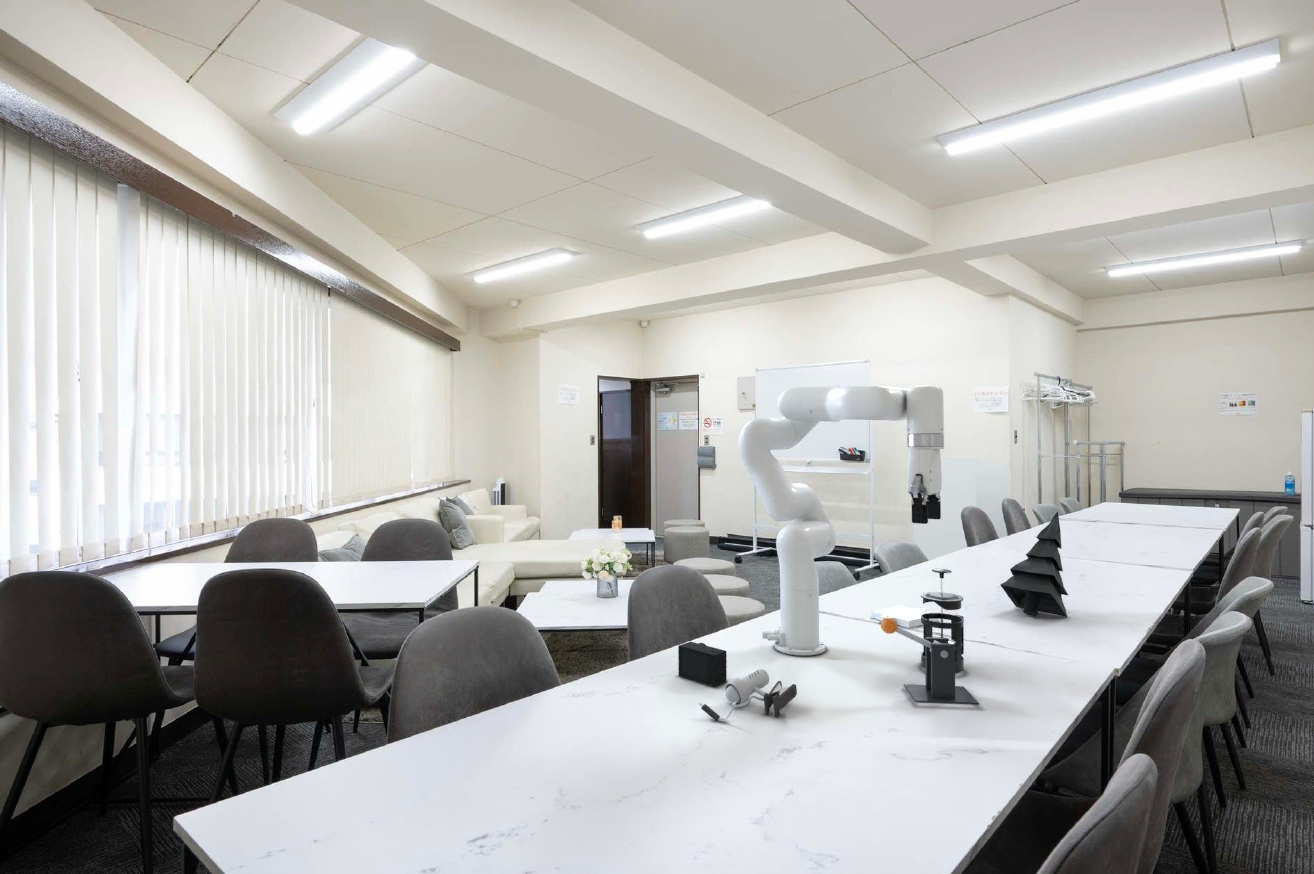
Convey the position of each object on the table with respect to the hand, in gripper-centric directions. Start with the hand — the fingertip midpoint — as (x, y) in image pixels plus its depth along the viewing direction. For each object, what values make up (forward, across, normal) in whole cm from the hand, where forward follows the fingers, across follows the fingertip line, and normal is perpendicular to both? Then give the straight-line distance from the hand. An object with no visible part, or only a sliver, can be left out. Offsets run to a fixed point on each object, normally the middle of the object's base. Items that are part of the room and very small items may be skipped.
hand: (926, 521), depth 148 cm
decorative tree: (+35, -81, +10) cm, 89 cm away
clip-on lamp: (+35, +38, -24) cm, 56 cm away
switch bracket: (+35, +9, +5) cm, 36 cm away
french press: (+35, -10, 0) cm, 36 cm away
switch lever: (+24, +12, 0) cm, 27 cm away
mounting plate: (+35, -48, -20) cm, 63 cm away
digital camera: (+35, +28, -40) cm, 60 cm away
